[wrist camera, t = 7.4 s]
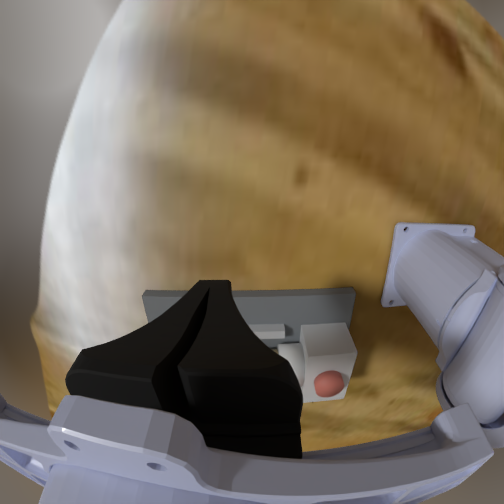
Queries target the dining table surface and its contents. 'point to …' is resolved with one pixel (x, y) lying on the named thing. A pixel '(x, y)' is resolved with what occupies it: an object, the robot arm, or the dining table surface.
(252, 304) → the valve board
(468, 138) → the dining table surface
